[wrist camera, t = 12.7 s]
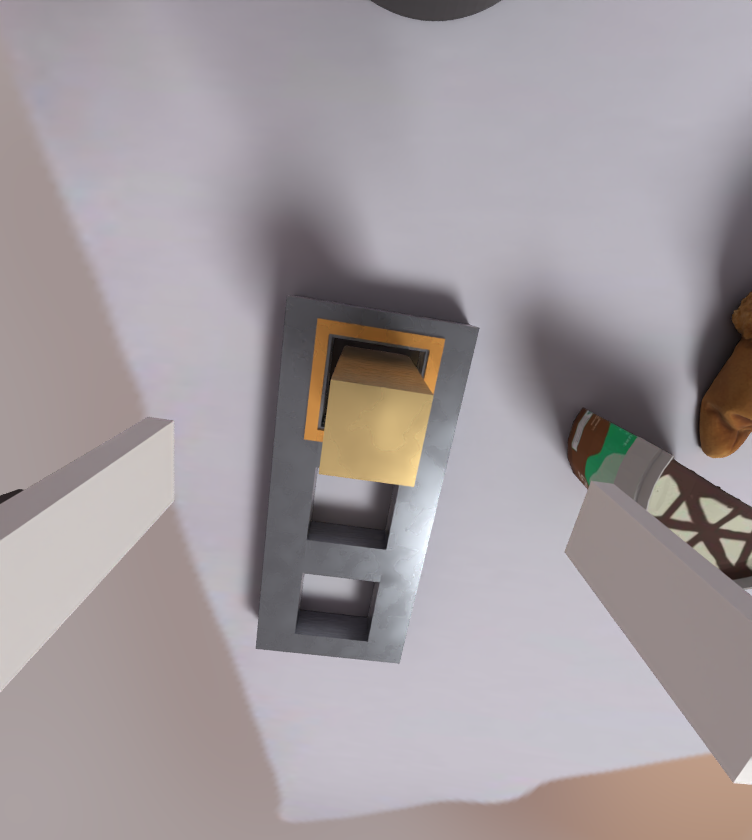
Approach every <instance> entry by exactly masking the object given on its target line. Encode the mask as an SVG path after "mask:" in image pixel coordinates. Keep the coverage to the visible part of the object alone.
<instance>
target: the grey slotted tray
mask: <svg viewBox="0 0 752 840" xmlns="http://www.w3.org/2000/svg"><path fill="white" fill-rule="evenodd" d="M478 332H479V328H478V327H475V326H472V325H469V324H463V323H457V322H451V321H445V320H439V319H433V318H427V317H421V316H415V315H409V314H403V313H397V312H391V311H385V310H379V309H373V308H367V307H361V306H355V305H349V304H343V303H338V302H332V301H326V300H320V299H314V298H308V297H302V296H296V295H290V296H287V299H286V311H285V322H284V333H283V345H282V356H281V367H280V379H279V390H278V402H277V413H276V424H275V436H274V447H273V458H272V470H271V481H270V493H269V504H268V515H267V527H266V538H265V549H264V561H263V572H262V584H261V595H260V606H259V618H258V629H257V641H256V649H263V650H273V651H283V652H292V653H302V654H312V655H321V656H331V657H341V658H350V659H360V660H370V661H379V662H389V663H400V659H401V655H402V651H403V646H404V642H405V638H406V634H407V630H408V625H409V621H410V617H411V613H412V609H413V604H414V600H415V596H416V592H417V588H418V583H419V579H420V575H421V571H422V567H423V562H424V558H425V554H426V550H427V546H428V541H429V537H430V533H431V529H432V525H433V520H434V516H435V512H436V508H437V504H438V499H439V495H440V491H441V487H442V483H443V478H444V474H445V470H446V466H447V462H448V458H449V453H450V449H451V445H452V441H453V437H454V432H455V428H456V424H457V420H458V416H459V411H460V407H461V403H462V399H463V395H464V390H465V386H466V382H467V378H468V374H469V369H470V365H471V361H472V357H473V353H474V348H475V344H476V340H477V336H478ZM334 338H342V339H348V340H354V341H360V342H366V343H373V344H379V345H385V346H391V347H397V348H404V349H410V350H416V351H420V354H419V359H418V364H417V370H418V371H419V373H420V375H421V376H422V378H423V379H424V381H425V382H426V384H427V386H428V387H429V389H430V390H431V392H432V393H433V395H434V396H433V401H432V405H431V410H430V415H429V419H428V424H427V429H426V433H425V438H424V443H423V447H422V452H421V457H420V461H419V466H418V471H417V475H416V480H415V485H414V487H411V486H404V485H396V484H394V487H393V492H392V497H391V502H390V507H389V512H388V517H387V522H386V527H385V531H384V530H376V529H368V528H360V527H353V526H345V525H337V524H329V523H321V522H313V521H311V518H312V510H313V502H314V494H315V487H316V479H317V471H318V467H320V460H321V452H322V444H323V436H324V429H325V421H326V416H325V408H326V400H327V393H328V385H329V377H330V369H331V361H332V353H333V346H334ZM304 573H305V574H314V575H322V576H330V577H339V578H347V579H356V580H364V581H373V582H375V583H374V589H373V594H372V599H371V604H370V609H369V614H368V618H367V617H358V616H349V615H340V614H331V613H322V612H313V611H304V610H300V604H301V596H302V588H303V581H304Z"/></svg>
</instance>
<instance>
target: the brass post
mask: <svg viewBox="0 0 752 840" xmlns="http://www.w3.org/2000/svg"><path fill="white" fill-rule="evenodd" d="M433 396H434V395H433V393H432V392H431V390H430V389H429V387H428V386H427V384H426V382H425V381H424V379H423V378H422V376H421V375H420V373H419V371H418V370H417V368H416V367H415V365H414V363H413V362H412V360H411V359H410V357H409V356H408V355H402V354H396V353H390V352H384V351H377V350H371V349H365V348H359V347H352V346H346V345H345V346H344V348H343V351H342V353H341V356H340V358H339V361H338V363H337V366H336V368H335V371H334V373H333V375H332V378H331V382H330V390H329V398H328V406H327V413H326V421H325V429H324V436H323V444H322V452H321V460H320V467H319V474H323V475H330V476H338V477H345V478H352V479H360V480H367V481H374V482H382V483H389V484H396V485H404V486H411V487H414V485H415V480H416V475H417V471H418V466H419V461H420V457H421V452H422V447H423V443H424V438H425V433H426V429H427V424H428V419H429V415H430V410H431V405H432V401H433Z"/></svg>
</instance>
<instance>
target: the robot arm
mask: <svg viewBox="0 0 752 840" xmlns="http://www.w3.org/2000/svg"><path fill="white" fill-rule="evenodd" d="M371 1H372V2H374V3H376V4H377V5H379V6H381V7H383V8H385V9H387V10H389V11H391V12H393V13H396V14H399V15H401V16H405V17H408V18H412V19H418V20H425V21H446V20H454V19H459V18H463V17H467V16H470V15H473V14H476V13H478V12H481V11H483V10H485V9H487V8H489V7H491V6H493V5H495V4H496V3H498V2H499V1H501V0H371ZM173 502H174V421H173V420H166V419H159V418H152V417H147V418H145V419H143V420H142V421H140V422H138V423H137V424H135V425H133V426H132V427H130V428H128V429H126V430H125V431H123V432H122V433H120V434H118V435H116V436H115V437H113V438H112V439H110V440H108V441H106V442H105V443H103V444H101V445H99V446H98V447H96V448H94V449H93V450H91V451H89V452H88V453H86V454H84V455H83V456H81V457H79V458H77V459H76V460H74V461H73V462H71V463H69V464H67V465H66V466H64V467H62V468H61V469H59V470H57V471H56V472H54V473H52V474H50V475H49V476H47V477H45V478H44V479H42V480H40V481H39V482H37V483H35V484H34V485H32V486H30V487H28V488H27V489H25V490H22V489H18V490H15V491H12V492H10V493H6V494H3V495H1V496H0V692H1V691H2V690H3V689H4V688H5V687H6V685H7V684H8V683H9V682H10V681H11V680H12V679H13V678H14V677H15V676H16V674H17V673H18V672H19V671H20V670H21V669H22V668H23V667H24V665H25V664H26V663H27V662H28V661H29V660H30V659H31V658H32V657H33V656H34V655H35V654H36V652H37V651H38V650H39V649H40V648H41V647H42V646H43V645H44V644H45V642H46V641H47V640H48V639H49V638H50V637H51V636H52V635H53V634H54V633H55V632H56V630H57V629H58V628H59V627H60V626H61V625H62V624H63V623H64V622H65V621H66V619H67V618H68V617H69V616H70V614H72V613H73V612H74V611H75V609H76V608H77V607H78V606H79V605H80V604H81V603H82V602H83V601H84V600H85V598H86V597H87V596H88V595H89V594H90V593H91V592H92V591H93V590H94V589H95V587H96V586H97V585H98V584H99V583H100V582H101V581H102V580H103V579H104V578H105V576H106V575H107V574H108V573H109V572H110V571H111V570H112V569H113V568H114V567H115V565H116V564H117V563H118V562H119V561H120V560H121V559H122V558H123V557H124V556H125V554H126V553H127V552H128V551H129V550H130V549H131V548H132V547H133V546H134V545H135V543H136V542H137V541H138V540H139V539H140V538H141V537H142V536H143V535H144V533H145V532H146V531H147V530H148V529H149V528H150V527H151V526H152V525H153V524H154V523H155V521H156V520H157V519H158V518H159V517H160V516H161V515H162V514H163V512H164V511H165V510H166V509H167V508H168V507H169V506H170V505H171V504H172V503H173ZM565 553H566V555H567V556H568V557H569V559H570V560H571V561H572V563H573V564H574V566H575V567H576V568H577V570H578V571H579V572H580V574H581V575H582V577H583V578H584V579H585V581H586V582H587V583H588V585H589V586H590V587H591V589H592V590H593V592H594V593H595V594H596V596H597V597H598V598H599V600H600V601H601V603H602V604H603V605H604V607H605V608H606V609H607V611H608V612H609V613H610V615H611V616H612V618H613V619H614V620H615V622H616V623H617V624H618V626H619V627H620V629H621V630H622V631H623V633H624V634H625V635H626V637H627V638H628V639H629V641H630V642H631V644H632V645H633V646H634V648H635V649H636V650H637V652H638V653H639V655H640V656H641V657H642V659H643V660H644V661H645V663H646V664H647V665H648V667H649V668H650V670H651V671H652V672H653V674H654V675H655V676H656V678H657V679H658V680H659V682H660V683H661V685H662V686H663V687H664V689H665V690H666V691H667V693H668V694H669V696H670V697H671V698H672V700H673V701H674V702H675V704H676V705H677V706H678V708H679V709H680V711H681V712H682V713H683V715H684V716H685V717H686V719H687V720H688V722H689V723H690V724H691V726H692V727H693V728H694V730H695V731H696V732H697V734H698V735H699V737H700V738H701V739H702V741H703V742H704V743H705V745H706V746H707V748H708V749H709V750H710V752H711V753H712V754H713V756H714V757H715V758H716V760H717V761H718V762H719V764H720V765H721V767H722V768H723V769H724V771H725V772H726V773H727V775H728V776H729V778H730V779H731V780H732V782H733V783H741V784H752V596H751V595H750V594H749V593H747V592H746V591H745V590H744V589H742V588H741V587H740V586H739V585H738V584H736V583H735V582H734V581H733V580H731V579H730V578H729V577H728V576H726V575H725V574H724V573H723V572H722V571H720V570H719V569H718V568H717V567H715V566H714V565H713V564H712V563H710V562H709V561H708V560H707V559H706V558H704V557H703V556H702V555H701V554H699V553H698V552H697V551H696V550H694V549H693V548H692V547H691V546H690V545H688V544H687V543H686V542H685V541H683V540H682V539H681V538H680V537H678V536H677V535H676V534H675V533H674V532H672V531H671V530H670V529H669V528H667V527H666V526H665V525H664V524H662V523H661V522H660V521H659V520H658V519H656V518H655V517H654V516H653V515H651V514H650V513H649V512H648V511H646V510H645V509H644V508H643V507H642V506H640V505H639V504H638V503H637V502H635V501H634V500H633V499H632V498H630V497H629V496H628V495H627V494H626V493H624V492H623V491H622V490H621V489H619V488H618V487H617V486H616V485H614V484H611V483H604V482H597V481H591V483H590V485H589V488H588V491H587V493H586V496H585V499H584V501H583V504H582V507H581V509H580V512H579V515H578V517H577V520H576V523H575V525H574V528H573V531H572V533H571V536H570V539H569V541H568V544H567V547H566V549H565Z"/></svg>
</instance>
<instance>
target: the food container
mask: <svg viewBox="0 0 752 840" xmlns="http://www.w3.org/2000/svg"><path fill="white" fill-rule="evenodd" d="M673 457H674V456H673V455H671V454H669V453H667V452H666V451H664V450H662V449H660V448H659V447H657V446H655V445H653V444H651V443H650V442H648V441H646V440H644V439H642V438H640V437H639V436H638V437H637V436H635V435H634V434H632V433H630V432H628V431H626V430H624V429H622V428H620V427H619V426H617V425H615V424H613V423H611V422H609V421H607V420H605V419H604V418H602V417H600V416H598V415H596V414H594V413H592V412H590V411H588V410H587V409H585V408H582V409H581V411H580V413H579V414H578V416H577V417H576V419H575V420H574V423H573V426H572V429H571V432H570V435H569V438H568V460H569V463H570V465H571V468H572V470H573V473H574V474H575V476H576V477H577V478H578V479H579V480H580V481H581V482H582V483H583V485H584V486H585V487H586V488H587V489H588V488H589V485H590V483H591V481H597V482H604V483H611V484H614V485H616V486H617V487H618V488H619V489H621V490H622V491H623V492H624V493H626V494H627V495H628V496H629V497H630V498H632V499H633V500H634V501H635V502H637V503H638V504H639V505H640V506H642V507H643V508H644V509H645V510H646V511H648V512H649V513H650V514H651V515H653V516H654V517H655V518H656V519H658V520H659V521H660V522H661V523H662V524H664V525H665V526H666V527H667V528H669V529H670V530H671V531H672V532H674V533H675V534H676V535H677V536H678V537H680V538H681V539H682V540H683V541H685V542H686V543H687V544H688V545H690V546H691V547H692V548H693V549H694V550H696V551H697V552H698V553H699V554H701V555H702V556H703V557H704V558H706V559H707V560H708V561H709V562H710V563H712V564H713V565H714V566H715V567H717V568H718V569H719V570H720V571H722V572H723V573H724V574H725V575H726V576H728V577H729V578H730V579H731V580H733V581H734V582H735V583H736V584H738V585H739V586H740V587H741V588H742V589H744V590H746V589H752V507H751V506H749V505H747V504H745V503H744V502H742V501H741V500H740V499H737V498H735V497H734V496H732V495H730V494H728V493H726V492H725V491H723V490H722V489H720V488H721V487H718V486H715V485H714V484H712V483H710V482H709V481H707V480H706V479H704V478H703V477H701V476H699V475H698V474H696V473H695V472H694V471H692V470H690V469H688V468H686V467H685V466H683V465H681V464H680V463H678V462H677V461H676V460H673Z"/></svg>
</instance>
